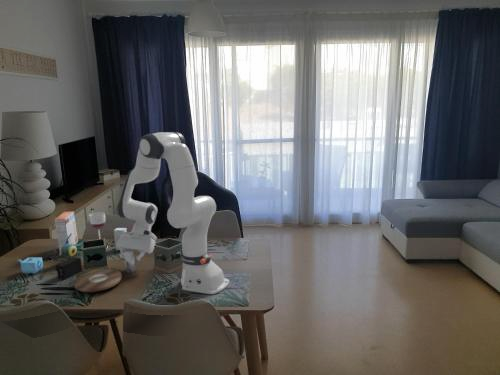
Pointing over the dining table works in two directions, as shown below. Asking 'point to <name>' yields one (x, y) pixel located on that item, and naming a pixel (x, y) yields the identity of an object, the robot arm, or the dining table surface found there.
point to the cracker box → (66, 229)
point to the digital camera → (69, 268)
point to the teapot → (31, 265)
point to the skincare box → (118, 234)
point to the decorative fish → (70, 249)
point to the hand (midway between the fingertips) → (129, 258)
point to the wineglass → (97, 220)
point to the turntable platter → (97, 280)
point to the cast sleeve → (129, 261)
